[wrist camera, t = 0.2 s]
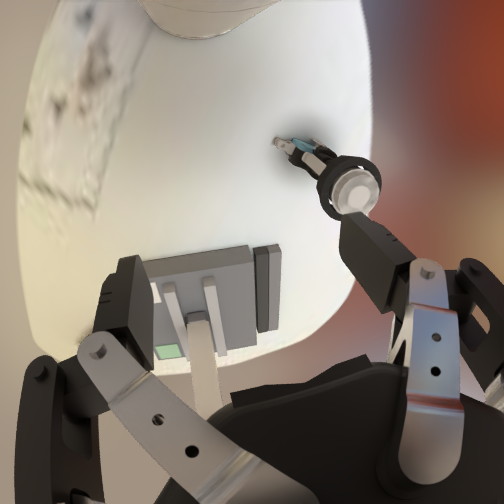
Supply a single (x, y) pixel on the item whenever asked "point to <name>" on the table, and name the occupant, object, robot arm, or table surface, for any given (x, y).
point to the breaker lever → (203, 366)
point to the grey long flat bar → (267, 286)
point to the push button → (336, 177)
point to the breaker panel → (203, 300)
